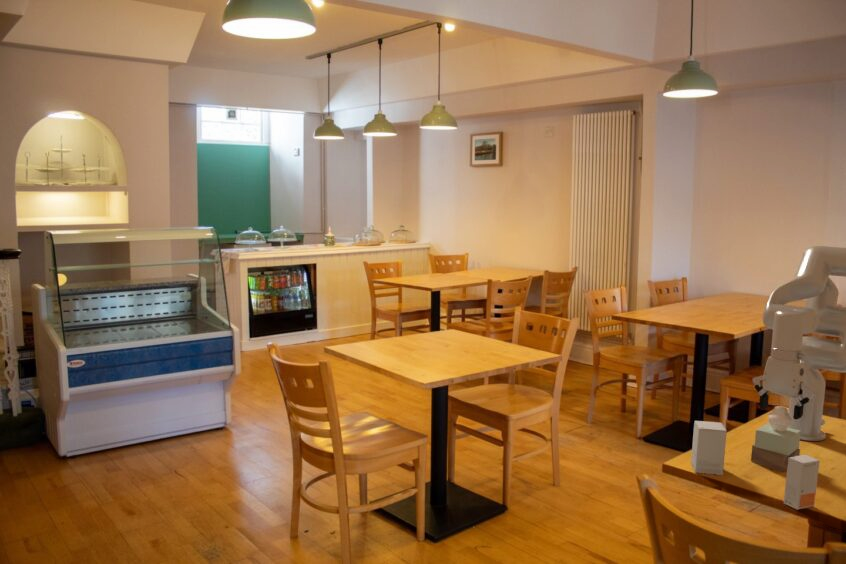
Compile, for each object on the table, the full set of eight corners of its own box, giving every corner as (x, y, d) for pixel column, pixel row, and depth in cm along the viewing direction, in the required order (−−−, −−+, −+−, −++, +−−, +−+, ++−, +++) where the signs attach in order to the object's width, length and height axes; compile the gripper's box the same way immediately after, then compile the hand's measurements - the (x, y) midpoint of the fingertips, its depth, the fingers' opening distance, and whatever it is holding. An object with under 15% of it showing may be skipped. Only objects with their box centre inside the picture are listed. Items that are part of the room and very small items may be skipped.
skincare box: (797, 510, 177) (802, 463, 175) (782, 503, 180) (787, 457, 179) (815, 506, 179) (820, 460, 177) (800, 499, 183) (805, 454, 181)
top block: (765, 439, 213) (767, 422, 212) (798, 447, 206) (800, 430, 206) (754, 446, 206) (756, 429, 205) (788, 455, 200) (790, 438, 199)
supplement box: (723, 475, 197) (727, 430, 195) (694, 473, 198) (698, 428, 196) (718, 465, 204) (722, 422, 202) (690, 462, 205) (693, 419, 204)
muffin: (771, 424, 210) (774, 401, 209) (794, 430, 206) (796, 406, 205) (763, 429, 206) (765, 405, 205) (785, 435, 201) (788, 410, 200)
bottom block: (767, 456, 213) (769, 439, 212) (798, 466, 206) (800, 449, 205) (750, 462, 208) (752, 445, 207) (781, 472, 201) (783, 455, 200)
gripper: (824, 359, 198) (818, 419, 201) (763, 346, 212) (758, 403, 215) (810, 363, 194) (804, 425, 196) (748, 349, 208) (743, 407, 210)
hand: (780, 413), depth 205 cm, fingers open, 9 cm apart
